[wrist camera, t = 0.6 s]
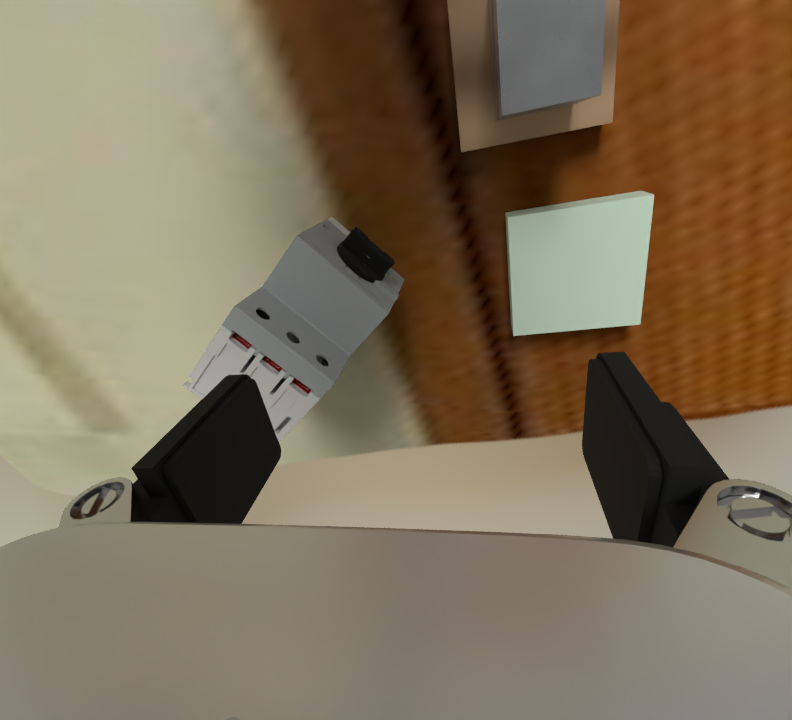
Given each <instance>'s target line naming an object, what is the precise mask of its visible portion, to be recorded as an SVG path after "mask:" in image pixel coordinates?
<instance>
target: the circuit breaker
mask: <svg viewBox="0 0 792 720" xmlns="http://www.w3.org/2000/svg"><path fill="white" fill-rule="evenodd" d="M393 264H394V261H393V259H392V258H391V257H390V256H389V255H388V254H386V253H385V252H382V251H381V250H380V249H379V248H378V247H377V246H376V245H375V244H373V243H372V242H371V241H370V240H369V239H368V237H367V236H366V235H365V234H364V233H363V232H362V231H360V230H359V229H358V228H357V227H355V228H354V230H352V231H351V232H350V231H349V230H347V229H346V228H345V227H344V226H343V225H342V224H341V223H339V222H338V221H337V220H336V219H335V218H334V217H333V216H332V217H330V218H328V219H327V220H325V221H323V222H321V223H319V224H317V225H316V226H314V227H312V228H310V229H308V230H306V231H305V232H303V233H301V234H300V235H297V236H296V238H295V239H294V241H293V242H292V244H291V245H290V247H289V248H288V250H287V251H286V253H285V254H284V256H283V257H282V259H281V260H280V261H279V263H278V264H277V266H276V267H275V269H274V270H273V272H272V273H271V275H270V276H269V278H268V279H267V281H266V282H265V284H264V285H263V286H262V287H261V288H260V289H258V290H257V291H255V292H254V293H252V294H251V295H250V296H248V297H247V298H245V299H244V300H243V301H241V302H240V303H238V304H237V305H235V306H234V307H233V309H232V311H231V312H230V314H229V315H228V317H227V318H226V320H225V321H224V323H223V324H222V326H221V327H220V329H219V331H218V332H217V334H216V335H215V337H214V338H213V340H212V341H211V343H210V344H209V346H208V348H207V349H206V351H205V352H204V354H203V355H202V357H201V358H200V360H199V361H198V363H197V365H196V366H195V368H194V369H193V371H192V372H191V374H190V375H189V377H191V378H192V379H193V382H192V383H190V382H188V381H187V382H185V383H184V385H183V386H184V387H185V388H187V389H188V390H190V391H191V392H192V393H194V394H195V395H197V396H198V397H200V398H201V399H203V398H204V397H205V396H206V395H207V394H208V393H209V392H210V391H211V390H212V389H213V388H214V387H215V386H216V385H217V384H218V383H220V382H221V381H222V380H223V379H224V378H225V377H226V376H227V375H240V374H247V375H249V376H250V377H251V379H254V380H255V381H256V383H257V386H258V388H259V391H260V394H261V396H262V399H263V402H264V404H265V407H266V410H267V412H268V415H269V418H270V420H271V423H272V426H273V429H274V431H275V434H276V437H277V439H278V440H279V441H281V440H282V439H283V438H284V437H285V436H286V435H287V434H288V433H289V432H290V430H291V429H292V428H293V427H294V426H295V425H296V424H297V423H298V422H299V421H300V420H301V419H302V418H303V417H304V416H305V415H306V413H307V412H308V411H309V410H310V409H311V408H312V407H313V406H314V405H315V404H316V403H317V402H318V401H319V400H320V399H321V398H322V396H323V395H324V394H325V393H326V392H327V391H328V390H329V389H330V388H331V387H332V386H333V385H334V383H335V382H336V380H337V378H338V377H339V375H340V373H341V371H342V369H343V368H344V366H345V364H346V362H347V360H348V359H349V357H350V355H351V354H352V353H353V352H354V351H355V350H356V349H357V348H358V347H359V346H360V344H361V343H362V342H363V341H364V340H365V339H366V338H367V337H368V336H369V335H370V334H371V332H372V331H373V330H374V329H375V328H376V327H377V326H378V325H379V324H380V323H381V322H382V321H383V319H384V318H385V317H386V316H387V315H388V314H389V312H390V310H391V308H392V306H393V304H394V302H395V301H396V300H397V298H398V296H399V295H398V293H399V291H400V289H401V287H402V285H403V283H404V280H405V279H403V278H402V277H401V276H400V275H399V274H398V273H397V272H395V271H394V270H393V269H392V268H391V267H392V266H393Z"/></svg>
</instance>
